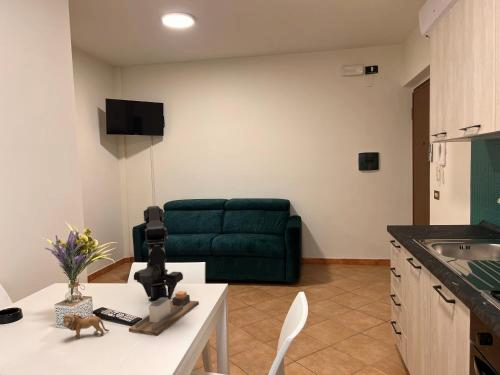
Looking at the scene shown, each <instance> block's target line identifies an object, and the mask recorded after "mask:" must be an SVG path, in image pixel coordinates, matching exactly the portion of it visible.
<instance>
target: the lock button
mask: <svg viewBox="0 0 500 375" xmlns="http://www.w3.org/2000/svg"><path fill="white" fill-rule="evenodd" d="M187 293H188V292H187V291H182V290H179V291H177V292H176V293H175V294H174V297H175V298H180V299H183V298H185V297H186V296H187V295H188V294H187Z"/></svg>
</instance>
